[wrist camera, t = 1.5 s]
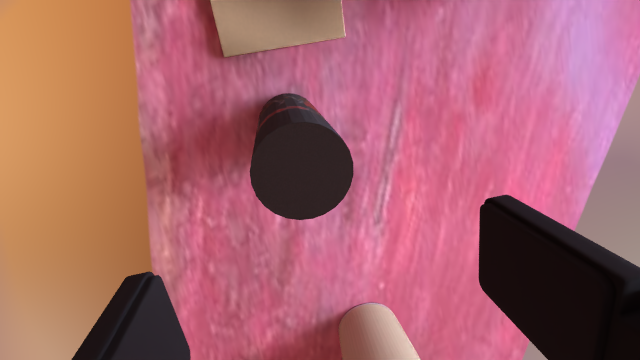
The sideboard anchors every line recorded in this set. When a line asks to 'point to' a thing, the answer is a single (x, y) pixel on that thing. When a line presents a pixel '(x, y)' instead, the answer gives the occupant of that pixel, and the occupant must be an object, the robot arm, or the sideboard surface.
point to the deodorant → (298, 160)
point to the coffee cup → (374, 335)
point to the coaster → (275, 23)
